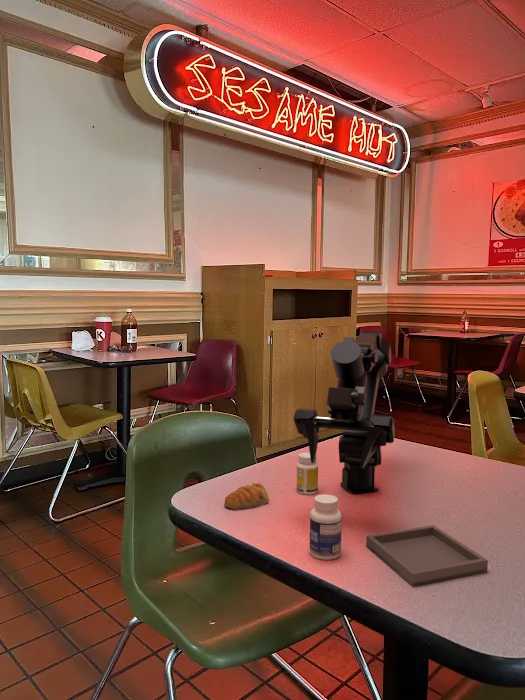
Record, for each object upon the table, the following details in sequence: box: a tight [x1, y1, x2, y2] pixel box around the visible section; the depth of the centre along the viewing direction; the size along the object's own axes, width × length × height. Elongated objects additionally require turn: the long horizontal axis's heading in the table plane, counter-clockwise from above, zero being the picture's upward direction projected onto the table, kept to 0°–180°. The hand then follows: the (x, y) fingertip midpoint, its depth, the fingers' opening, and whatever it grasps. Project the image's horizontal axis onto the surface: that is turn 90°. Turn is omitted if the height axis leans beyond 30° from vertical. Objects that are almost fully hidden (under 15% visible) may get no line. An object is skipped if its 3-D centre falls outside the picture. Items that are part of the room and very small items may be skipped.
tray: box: [365, 524, 489, 588], centre depth 92 cm, size 14×14×2 cm
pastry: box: [223, 482, 270, 510], centre depth 116 cm, size 9×7×4 cm
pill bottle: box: [309, 494, 343, 561], centre depth 93 cm, size 5×5×10 cm
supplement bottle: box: [296, 452, 319, 495], centre depth 123 cm, size 5×5×8 cm
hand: (336, 464), depth 100 cm, fingers open, 9 cm apart
